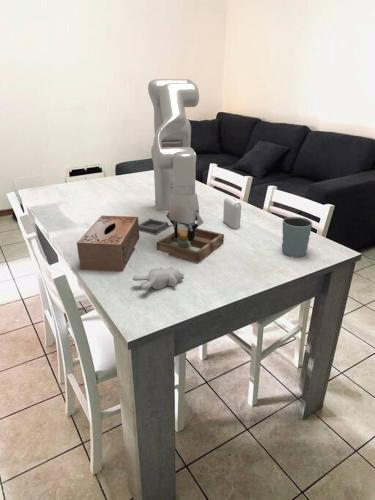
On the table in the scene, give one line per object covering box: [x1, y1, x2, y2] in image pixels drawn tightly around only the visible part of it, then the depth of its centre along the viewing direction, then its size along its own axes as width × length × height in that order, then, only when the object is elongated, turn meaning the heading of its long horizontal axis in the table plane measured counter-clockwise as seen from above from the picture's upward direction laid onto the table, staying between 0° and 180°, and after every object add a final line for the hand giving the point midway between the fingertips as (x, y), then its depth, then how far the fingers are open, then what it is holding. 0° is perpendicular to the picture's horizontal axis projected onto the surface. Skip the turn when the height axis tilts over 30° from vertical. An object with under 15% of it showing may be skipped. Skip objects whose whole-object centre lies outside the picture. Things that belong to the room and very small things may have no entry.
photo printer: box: [222, 195, 242, 230], centre depth 155 cm, size 10×4×12 cm, turn 20°
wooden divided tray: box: [156, 227, 225, 264], centre depth 136 cm, size 20×17×4 cm
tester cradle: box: [139, 218, 173, 236], centre depth 153 cm, size 12×12×2 cm
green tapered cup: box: [281, 216, 313, 258], centre depth 131 cm, size 10×10×12 cm
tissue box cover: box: [76, 215, 140, 272], centre depth 131 cm, size 26×14×10 cm, turn 174°
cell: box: [177, 222, 191, 248], centre depth 130 cm, size 5×5×10 cm
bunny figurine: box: [132, 267, 185, 291], centre depth 111 cm, size 10×5×15 cm
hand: (184, 237), depth 131 cm, fingers closed on cell, 5 cm apart
